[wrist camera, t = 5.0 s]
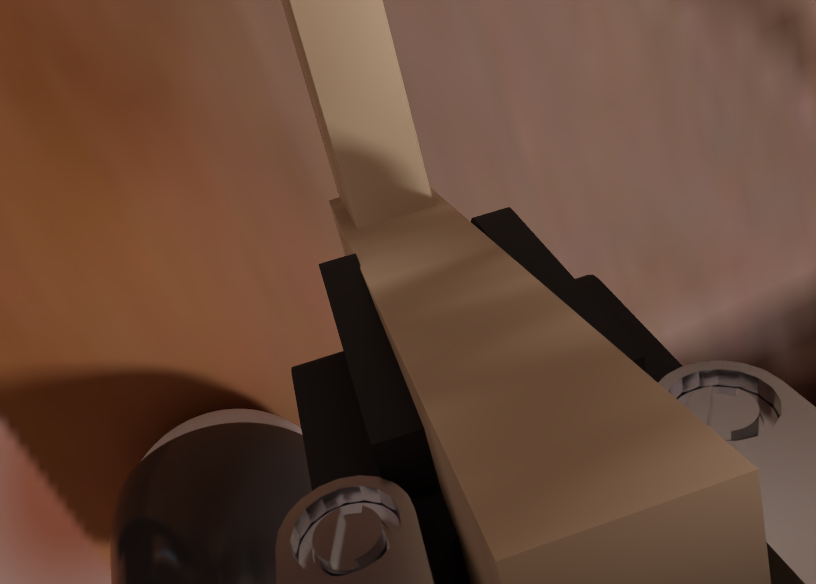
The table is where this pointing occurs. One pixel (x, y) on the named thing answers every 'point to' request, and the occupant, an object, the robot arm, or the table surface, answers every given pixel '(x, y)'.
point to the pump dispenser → (209, 501)
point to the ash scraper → (515, 365)
